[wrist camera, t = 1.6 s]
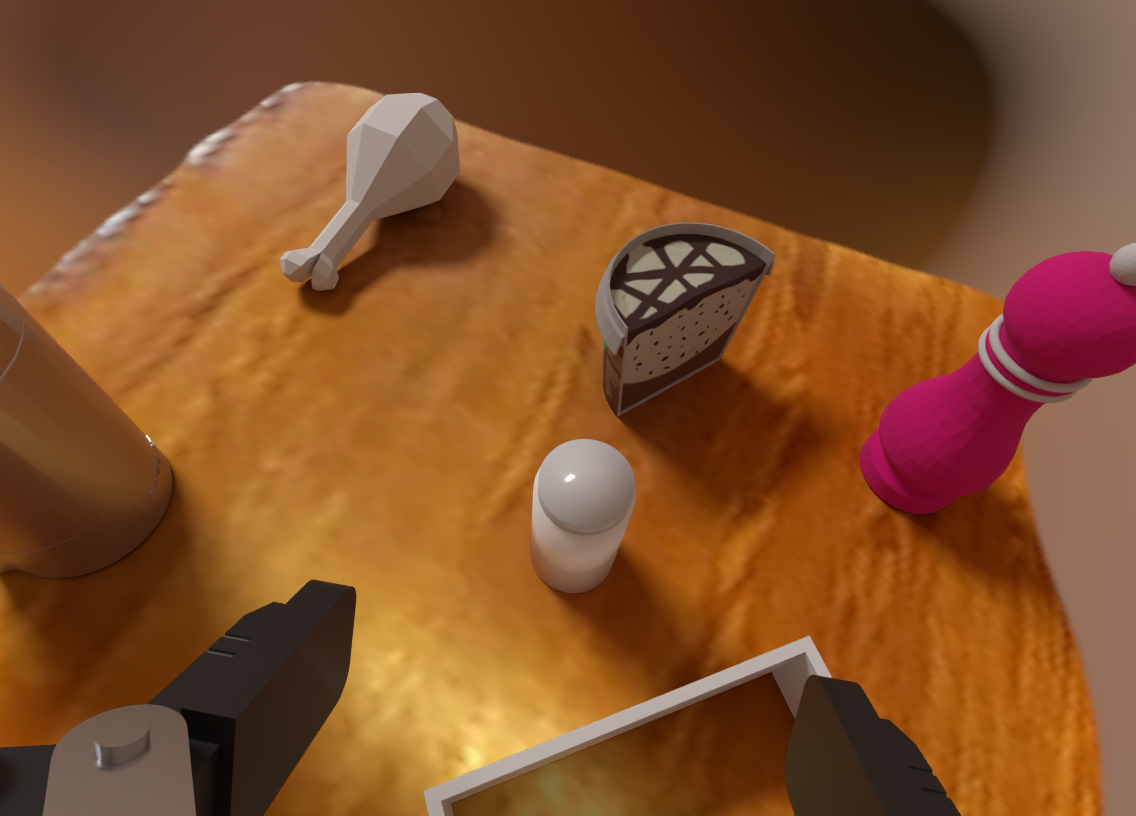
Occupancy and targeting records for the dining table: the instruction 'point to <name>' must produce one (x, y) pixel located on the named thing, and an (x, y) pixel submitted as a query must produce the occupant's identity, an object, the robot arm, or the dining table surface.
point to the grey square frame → (638, 719)
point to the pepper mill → (1006, 381)
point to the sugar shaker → (580, 514)
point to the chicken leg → (383, 178)
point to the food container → (673, 306)
